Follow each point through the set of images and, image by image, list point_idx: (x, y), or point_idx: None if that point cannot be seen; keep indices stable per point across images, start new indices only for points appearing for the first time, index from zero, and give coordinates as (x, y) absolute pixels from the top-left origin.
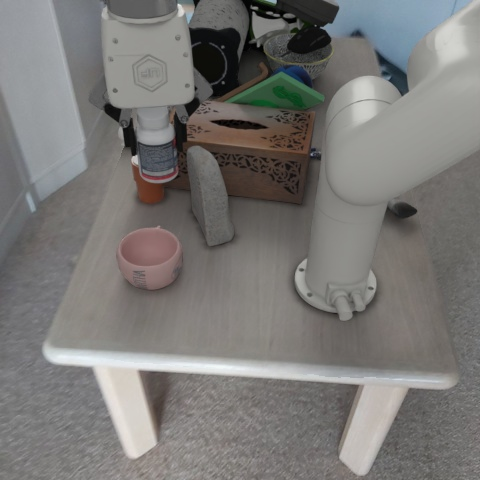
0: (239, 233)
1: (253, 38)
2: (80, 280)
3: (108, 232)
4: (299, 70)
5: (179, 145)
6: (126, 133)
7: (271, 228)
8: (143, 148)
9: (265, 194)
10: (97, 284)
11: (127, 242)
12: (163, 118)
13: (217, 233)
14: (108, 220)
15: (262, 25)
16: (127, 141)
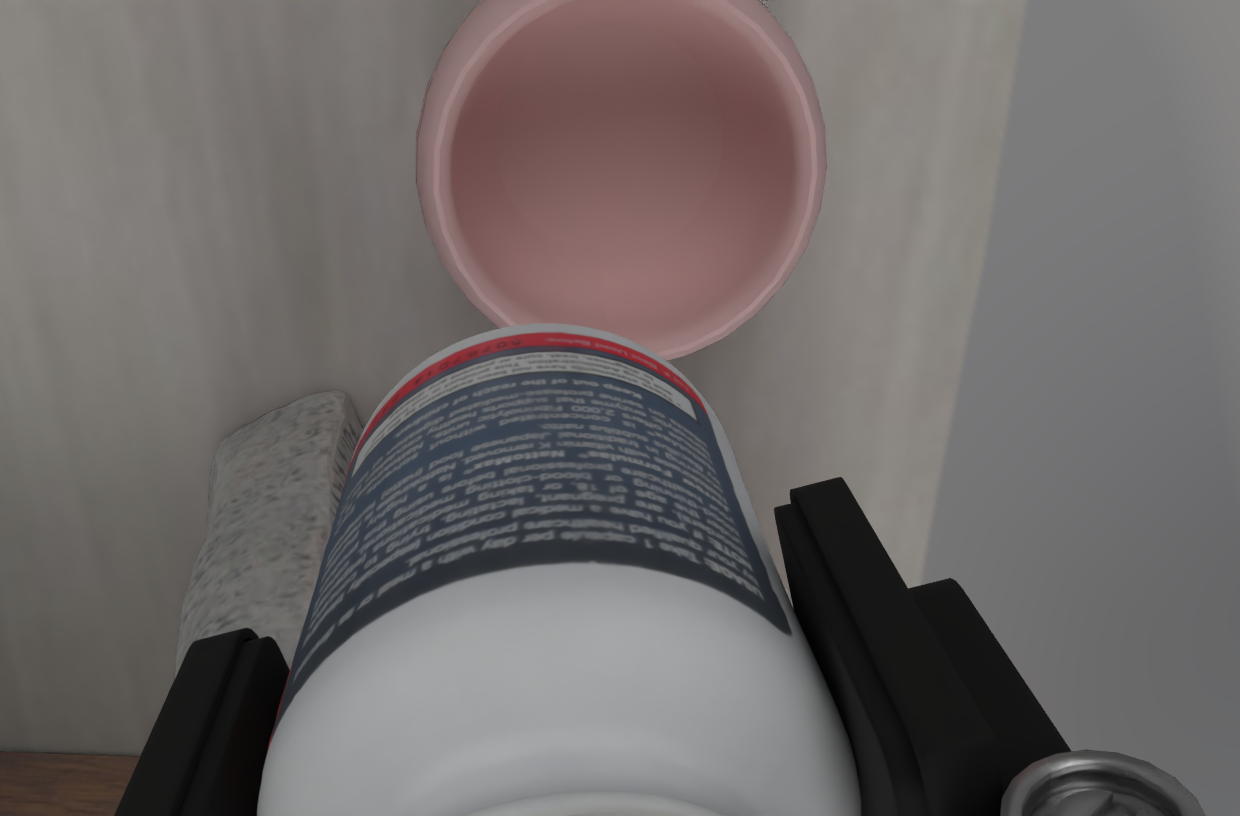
0: (194, 504)
1: None
2: (992, 64)
3: (883, 439)
4: None
5: (210, 688)
6: (984, 712)
7: (26, 559)
8: (692, 539)
9: (103, 778)
10: (899, 39)
11: (770, 243)
12: None
13: (275, 437)
14: (893, 522)
15: None
16: (936, 626)
